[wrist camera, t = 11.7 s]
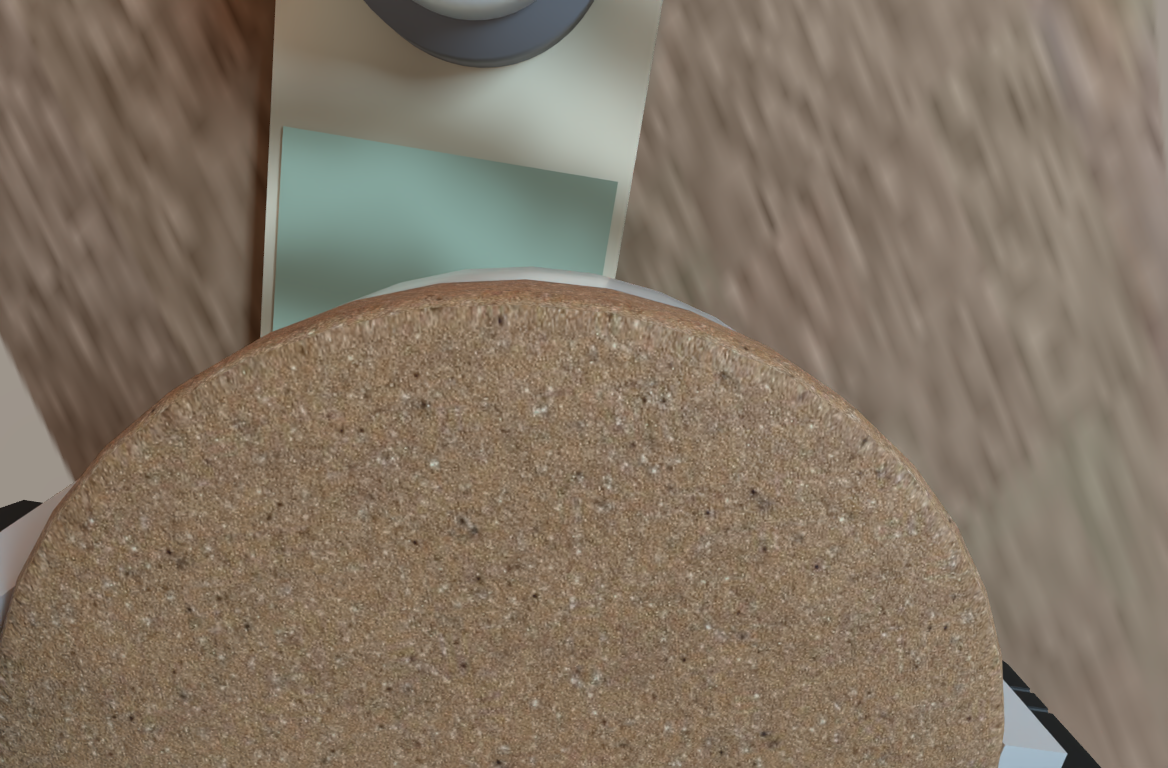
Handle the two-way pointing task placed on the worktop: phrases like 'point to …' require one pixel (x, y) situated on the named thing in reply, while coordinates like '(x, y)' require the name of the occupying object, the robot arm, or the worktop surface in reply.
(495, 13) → the dome
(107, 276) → the worktop surface
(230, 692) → the lidded jar
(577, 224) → the game board
